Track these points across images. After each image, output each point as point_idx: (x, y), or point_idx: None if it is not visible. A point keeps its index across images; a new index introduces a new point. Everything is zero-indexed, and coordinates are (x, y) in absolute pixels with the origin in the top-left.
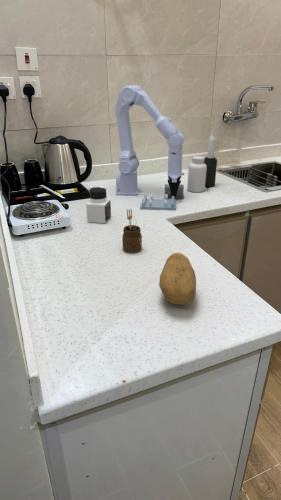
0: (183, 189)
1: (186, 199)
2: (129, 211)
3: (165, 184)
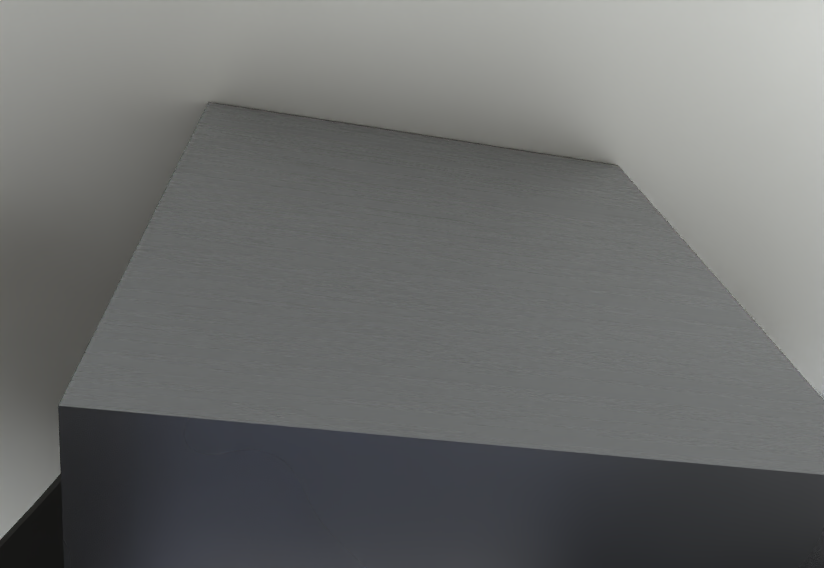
0: (813, 405)
1: (678, 39)
2: None
3: None
